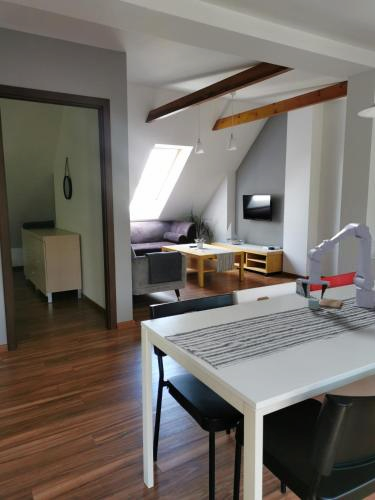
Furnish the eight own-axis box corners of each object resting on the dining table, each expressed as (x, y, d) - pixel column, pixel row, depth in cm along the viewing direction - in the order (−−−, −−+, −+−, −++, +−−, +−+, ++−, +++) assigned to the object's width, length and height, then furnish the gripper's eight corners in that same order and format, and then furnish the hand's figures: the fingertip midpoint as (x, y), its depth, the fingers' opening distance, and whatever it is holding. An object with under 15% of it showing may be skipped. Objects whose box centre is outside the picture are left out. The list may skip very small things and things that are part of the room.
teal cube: (318, 307, 196) (319, 299, 195) (317, 309, 192) (317, 301, 192) (310, 306, 198) (310, 298, 198) (308, 308, 194) (308, 300, 194)
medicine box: (295, 292, 226) (296, 278, 225) (302, 292, 227) (302, 278, 226) (303, 296, 219) (303, 281, 217) (309, 295, 220) (310, 281, 219)
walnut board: (342, 302, 205) (342, 300, 205) (339, 308, 193) (339, 306, 193) (323, 300, 210) (323, 298, 210) (319, 306, 198) (319, 304, 198)
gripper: (330, 272, 193) (329, 297, 195) (301, 270, 199) (300, 295, 201) (329, 274, 187) (328, 301, 189) (299, 272, 193) (298, 298, 194)
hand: (313, 298), depth 194 cm, fingers open, 7 cm apart
